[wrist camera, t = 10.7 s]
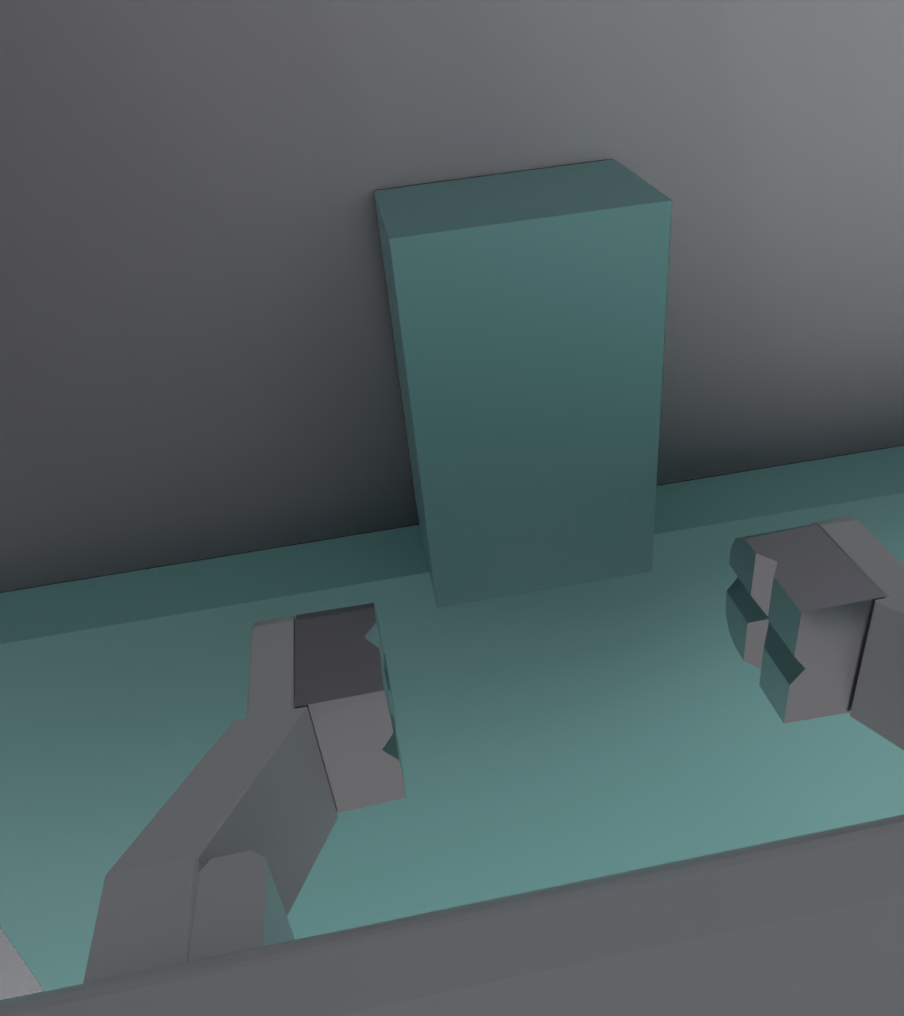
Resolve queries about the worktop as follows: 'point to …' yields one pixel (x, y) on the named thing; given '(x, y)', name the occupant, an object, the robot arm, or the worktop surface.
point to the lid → (467, 607)
